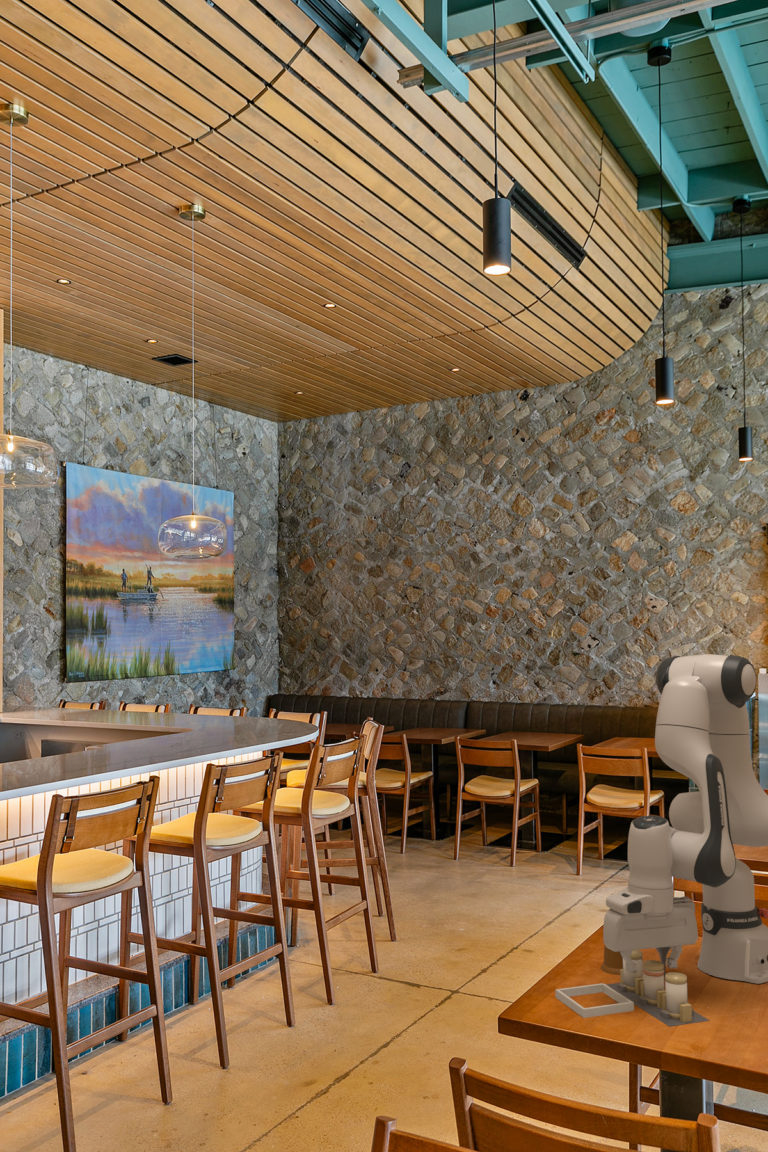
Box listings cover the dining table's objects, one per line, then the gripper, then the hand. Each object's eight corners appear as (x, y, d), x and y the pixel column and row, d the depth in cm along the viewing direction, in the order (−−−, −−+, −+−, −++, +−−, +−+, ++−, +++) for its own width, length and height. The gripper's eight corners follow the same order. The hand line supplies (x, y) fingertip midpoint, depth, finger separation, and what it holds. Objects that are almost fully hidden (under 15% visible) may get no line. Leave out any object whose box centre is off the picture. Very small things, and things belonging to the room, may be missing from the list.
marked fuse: (657, 996, 191) (656, 959, 191) (669, 1004, 187) (668, 965, 187) (639, 999, 189) (638, 961, 190) (651, 1006, 185) (650, 967, 186)
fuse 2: (679, 1010, 183) (678, 971, 184) (692, 1018, 180) (691, 977, 180) (662, 1013, 182) (661, 973, 183) (674, 1020, 178) (673, 980, 179)
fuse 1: (636, 984, 198) (635, 947, 198) (647, 990, 194) (646, 953, 194) (619, 986, 196) (618, 949, 197) (630, 993, 193) (629, 955, 193)
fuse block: (641, 987, 200) (640, 965, 200) (710, 1028, 178) (709, 1004, 179) (604, 992, 197) (603, 970, 198) (669, 1034, 176) (669, 1010, 176)
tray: (603, 998, 194) (603, 983, 194) (634, 1018, 183) (633, 1002, 184) (555, 1004, 191) (555, 989, 191) (583, 1025, 180) (583, 1009, 180)
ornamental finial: (620, 968, 212) (642, 979, 205) (593, 973, 209) (615, 984, 202) (619, 932, 212) (641, 941, 206) (592, 936, 209) (614, 946, 203)
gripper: (684, 892, 195) (686, 960, 194) (598, 898, 189) (599, 969, 188) (703, 899, 190) (705, 970, 188) (615, 906, 183) (616, 979, 182)
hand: (651, 969), depth 188 cm, fingers open, 8 cm apart
